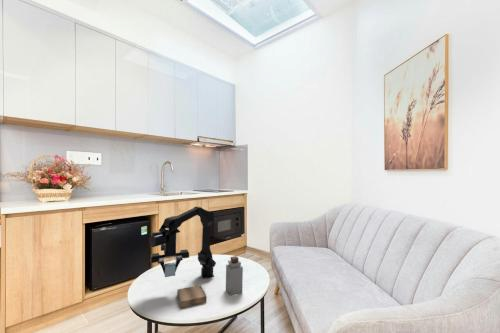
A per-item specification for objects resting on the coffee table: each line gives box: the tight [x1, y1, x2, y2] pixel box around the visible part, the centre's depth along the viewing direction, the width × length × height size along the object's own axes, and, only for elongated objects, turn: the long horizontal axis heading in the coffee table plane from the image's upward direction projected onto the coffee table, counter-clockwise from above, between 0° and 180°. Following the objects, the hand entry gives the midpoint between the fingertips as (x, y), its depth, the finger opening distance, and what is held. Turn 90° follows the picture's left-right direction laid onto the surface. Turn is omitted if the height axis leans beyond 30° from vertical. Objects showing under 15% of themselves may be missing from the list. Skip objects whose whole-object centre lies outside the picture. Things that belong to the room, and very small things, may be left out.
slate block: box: [163, 261, 176, 278], centre depth 118 cm, size 5×5×5 cm
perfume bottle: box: [225, 255, 244, 297], centre depth 121 cm, size 7×7×18 cm
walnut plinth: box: [176, 284, 208, 309], centre depth 113 cm, size 12×12×3 cm
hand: (169, 272), depth 118 cm, fingers closed on slate block, 5 cm apart
